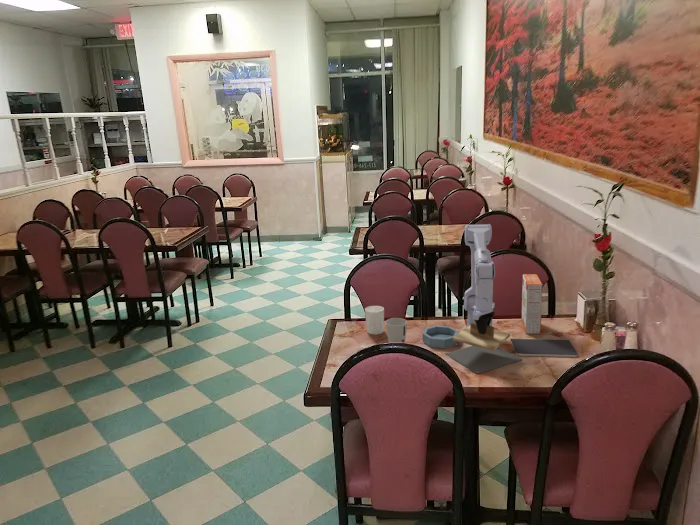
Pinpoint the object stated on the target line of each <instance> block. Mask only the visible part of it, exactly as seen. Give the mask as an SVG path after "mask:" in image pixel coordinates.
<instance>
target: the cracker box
mask: <svg viewBox="0 0 700 525" xmlns="http://www.w3.org/2000/svg"><path fill="white" fill-rule="evenodd" d="M521 291H522V292H521V293H522V294H521V298H522V299H521V322H522V326H523V329H524V332H525V334H526V335H541V332H542V331H541V330H542V329H541V328H542V326H541V325H542V303H543V300H542V299H543V283H542V281H541V280H540V278H539V276H538V274H536V273H533V274H531V273H530V274H529V273H524V274H522V290H521Z"/></svg>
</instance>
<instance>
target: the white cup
mask: <svg viewBox="0 0 700 525" xmlns="http://www.w3.org/2000/svg"><path fill="white" fill-rule="evenodd" d="M364 314H365V324H366V331H367V334H369V335H380V334H383V333H384V331H385V330H384V329H385V328H384V324H385V308H384V306H380V305H370V306H366V307H365V308H364Z"/></svg>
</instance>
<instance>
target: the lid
mask: <svg viewBox="0 0 700 525" xmlns="http://www.w3.org/2000/svg"><path fill="white" fill-rule="evenodd" d="M510 337H511V333H508V332H505V331H501V330H498V329H495V327H494V326H493V325H492V326H488V325H487V326H486V332H485V334H484V335H483V334H479V332H478V328H477V324H476V322H472V323H471V324H470V325H469V326H468V325H467V326H466V327H465V328H464V330H463V329H462V330H461V331H460V332H459V333H458V334H457V335H456V336H454V337H453V340H455V341H458V343H462V344H465V345H469V346H476V347H479V348H483V349H486V350H490V351H494V350H495V349H496V348H498V347H499V348H500V346H501V345H502V344H503V343H504V342H505V341H507V339H509V338H510Z"/></svg>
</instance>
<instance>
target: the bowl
mask: <svg viewBox="0 0 700 525" xmlns="http://www.w3.org/2000/svg"><path fill="white" fill-rule="evenodd" d="M458 333H460V332H459V330H458V329H455V328H454V327H452V326H448V325H447V326H446V325H433V326H429V327H425V328H424V329H423V332H422V343H423V342H424V344H425V343H426V344H425V345H427V346H428V347H429V348H437V347H438V348H439V349H447V348H446V347H448V348H451V347H453V345H455V346H457V345H458V343H459V342H458V341H455V340H453V337H454V336H456V335H457V334H458ZM457 342H458V343H457ZM456 344H457V345H456ZM450 346H451V347H450Z"/></svg>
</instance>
